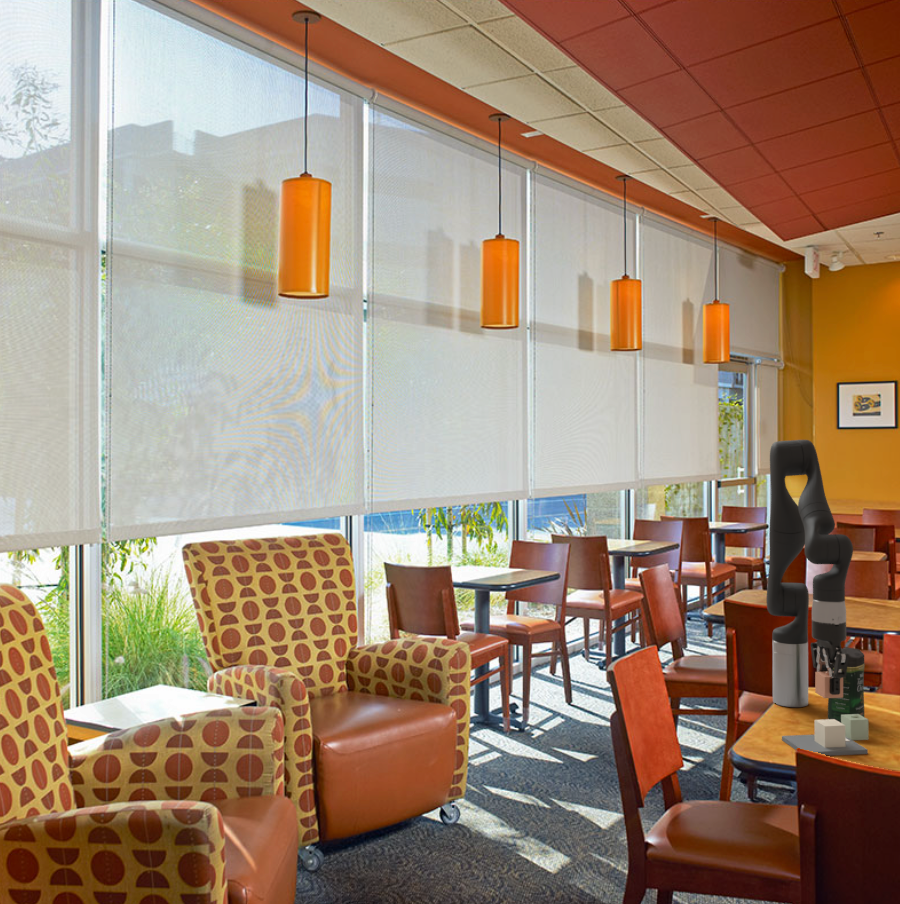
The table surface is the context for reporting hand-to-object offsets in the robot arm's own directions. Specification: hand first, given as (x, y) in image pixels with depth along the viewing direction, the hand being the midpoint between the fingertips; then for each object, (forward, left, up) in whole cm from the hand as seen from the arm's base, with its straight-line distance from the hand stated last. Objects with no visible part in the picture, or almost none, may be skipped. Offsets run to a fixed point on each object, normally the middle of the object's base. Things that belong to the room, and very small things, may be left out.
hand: (829, 690), depth 219 cm
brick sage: (-7, +10, -14) cm, 18 cm away
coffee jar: (-20, +15, -14) cm, 29 cm away
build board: (-1, -1, -14) cm, 14 cm away
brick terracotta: (0, 0, -1) cm, 1 cm away
